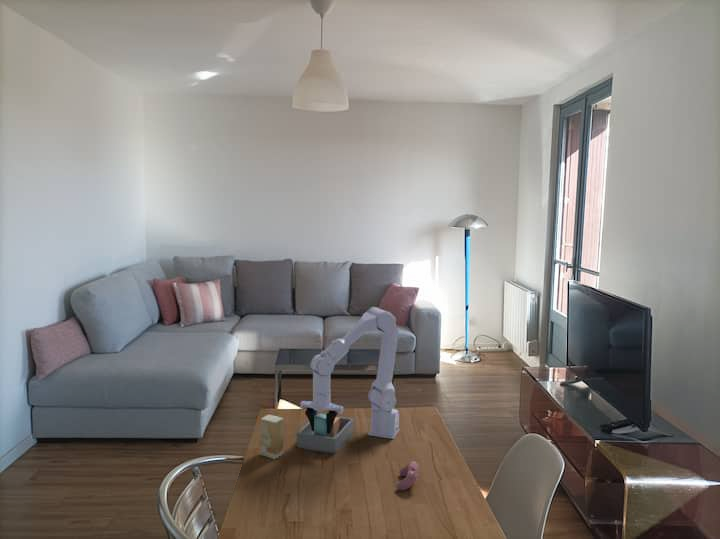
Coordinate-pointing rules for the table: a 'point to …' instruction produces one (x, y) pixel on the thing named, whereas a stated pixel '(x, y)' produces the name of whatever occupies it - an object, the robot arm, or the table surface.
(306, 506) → the table surface
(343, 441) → the tote
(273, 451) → the skincare box
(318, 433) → the teal cylinder
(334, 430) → the terracotta cube
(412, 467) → the pink curved lump
